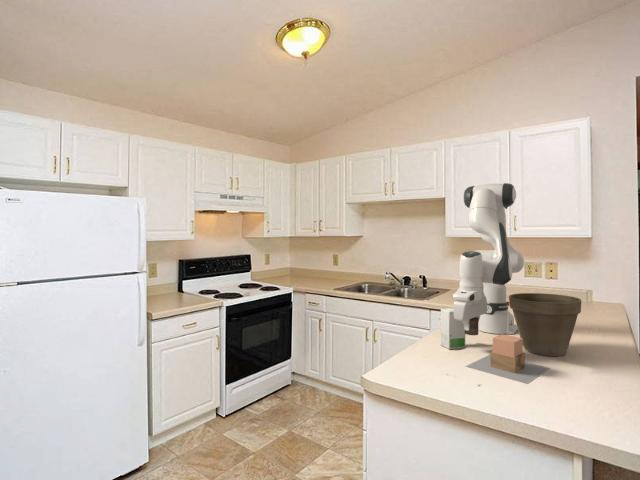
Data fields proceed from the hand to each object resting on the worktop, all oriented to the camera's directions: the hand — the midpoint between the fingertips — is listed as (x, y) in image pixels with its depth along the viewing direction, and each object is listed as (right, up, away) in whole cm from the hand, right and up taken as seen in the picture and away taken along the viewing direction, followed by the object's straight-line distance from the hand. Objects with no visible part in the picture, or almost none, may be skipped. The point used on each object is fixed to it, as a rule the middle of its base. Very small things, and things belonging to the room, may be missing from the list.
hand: (471, 328), depth 145 cm
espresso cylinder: (0, -2, 0) cm, 2 cm away
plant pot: (+31, -10, +4) cm, 32 cm away
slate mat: (+5, -10, -18) cm, 22 cm away
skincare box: (-4, -10, +10) cm, 15 cm away
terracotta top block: (+5, -4, -18) cm, 20 cm away
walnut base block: (+5, -9, -18) cm, 21 cm away
